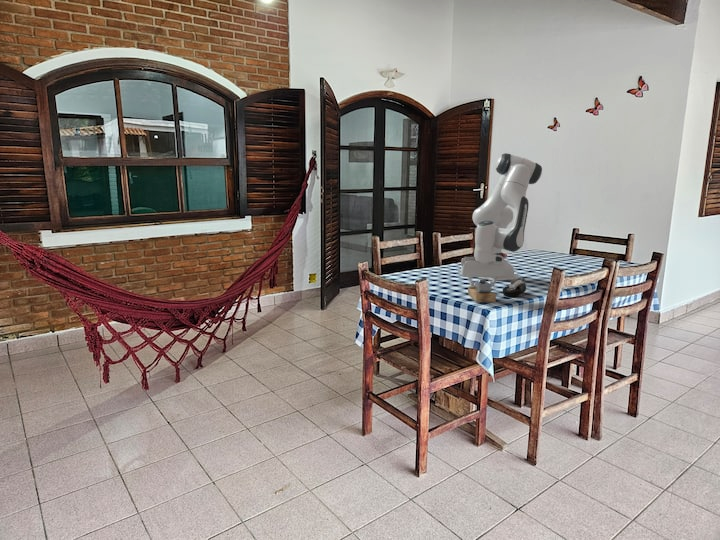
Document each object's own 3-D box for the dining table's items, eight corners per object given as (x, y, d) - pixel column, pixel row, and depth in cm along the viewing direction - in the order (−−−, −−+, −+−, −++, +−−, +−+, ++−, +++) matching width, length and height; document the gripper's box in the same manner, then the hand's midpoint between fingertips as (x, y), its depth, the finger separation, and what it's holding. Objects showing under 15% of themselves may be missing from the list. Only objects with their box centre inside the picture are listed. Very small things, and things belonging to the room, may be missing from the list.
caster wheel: (505, 302, 234) (502, 293, 243) (529, 298, 231) (525, 290, 241) (503, 289, 231) (500, 281, 241) (528, 285, 229) (524, 277, 239)
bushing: (489, 291, 244) (489, 285, 243) (492, 293, 240) (493, 287, 240) (481, 291, 244) (482, 285, 243) (484, 293, 240) (485, 287, 239)
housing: (490, 294, 226) (490, 282, 225) (479, 294, 226) (479, 282, 225) (484, 289, 234) (485, 279, 233) (474, 289, 234) (475, 279, 233)
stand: (486, 294, 238) (487, 286, 237) (495, 301, 224) (496, 293, 223) (467, 294, 237) (468, 286, 237) (475, 302, 224) (476, 293, 223)
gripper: (463, 258, 223) (461, 287, 226) (507, 258, 224) (505, 287, 227) (459, 255, 229) (458, 284, 232) (503, 255, 230) (501, 284, 233)
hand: (482, 286), depth 230 cm, fingers open, 8 cm apart
